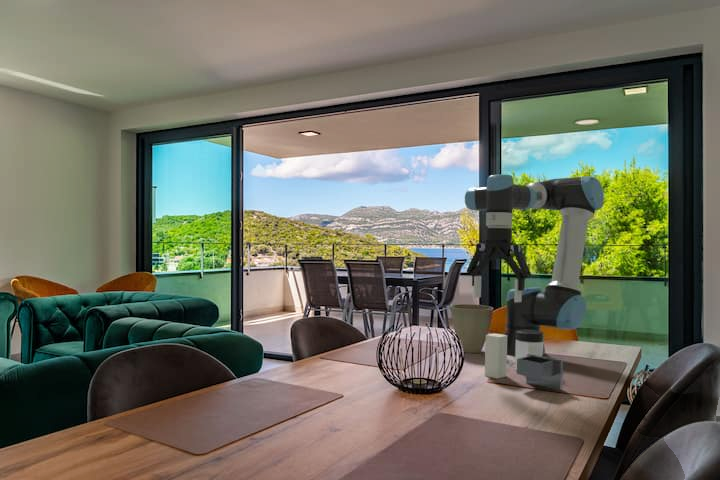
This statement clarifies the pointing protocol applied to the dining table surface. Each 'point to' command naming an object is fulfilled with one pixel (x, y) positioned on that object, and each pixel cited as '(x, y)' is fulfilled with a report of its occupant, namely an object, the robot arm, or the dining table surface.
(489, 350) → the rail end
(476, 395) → the dining table surface
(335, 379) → the dining table surface
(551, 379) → the cup bracket
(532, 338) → the jar
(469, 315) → the plant pot
